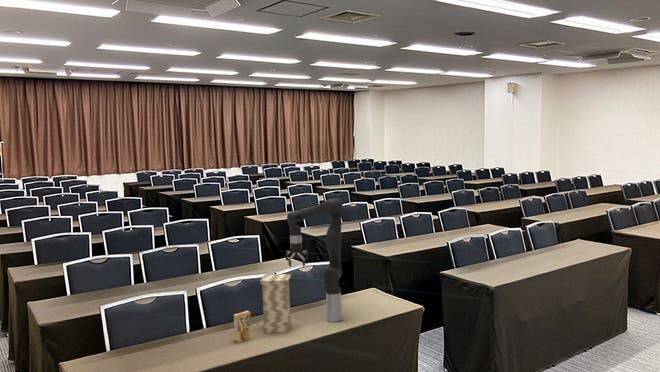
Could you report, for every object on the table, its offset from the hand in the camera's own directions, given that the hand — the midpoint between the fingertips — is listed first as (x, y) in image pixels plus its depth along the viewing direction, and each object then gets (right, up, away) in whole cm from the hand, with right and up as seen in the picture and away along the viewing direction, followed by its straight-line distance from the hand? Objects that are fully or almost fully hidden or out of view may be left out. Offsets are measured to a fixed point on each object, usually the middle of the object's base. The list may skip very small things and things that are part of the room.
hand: (297, 266), depth 327 cm
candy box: (-28, -35, -42) cm, 61 cm away
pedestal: (-10, -33, -26) cm, 43 cm away
